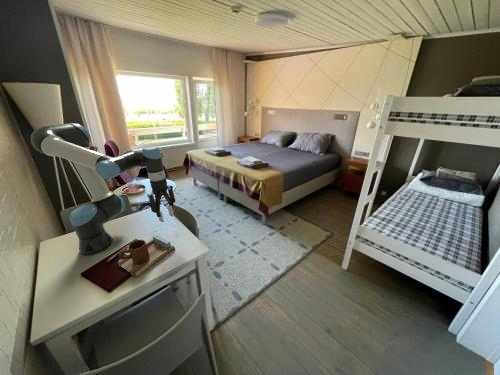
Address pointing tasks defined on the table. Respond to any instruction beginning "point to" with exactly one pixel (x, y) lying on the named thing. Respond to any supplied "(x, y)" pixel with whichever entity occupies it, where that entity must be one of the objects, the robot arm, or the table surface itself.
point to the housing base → (155, 256)
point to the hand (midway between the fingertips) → (166, 218)
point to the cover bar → (161, 241)
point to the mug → (136, 252)
